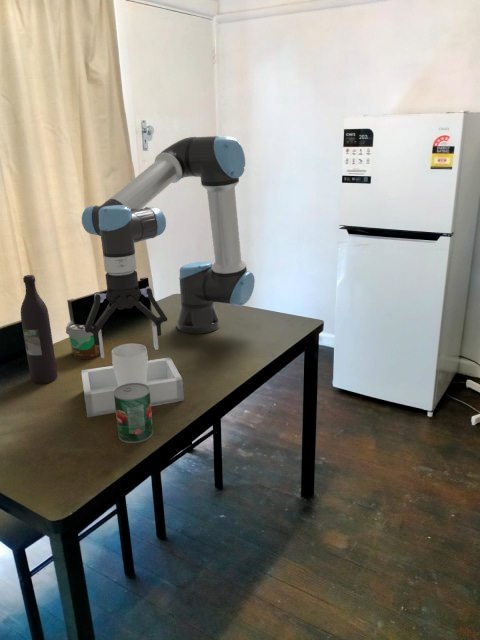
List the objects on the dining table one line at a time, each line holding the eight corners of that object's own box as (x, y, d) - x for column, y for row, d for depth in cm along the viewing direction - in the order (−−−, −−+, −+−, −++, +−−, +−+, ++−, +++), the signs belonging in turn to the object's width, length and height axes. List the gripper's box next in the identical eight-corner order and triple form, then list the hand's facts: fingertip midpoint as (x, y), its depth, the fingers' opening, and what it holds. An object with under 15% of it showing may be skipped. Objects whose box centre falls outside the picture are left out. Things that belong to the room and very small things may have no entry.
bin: (171, 376, 145) (170, 357, 143) (183, 400, 131) (182, 379, 129) (83, 390, 137) (81, 370, 135) (87, 417, 124) (84, 395, 122)
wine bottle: (30, 376, 146) (13, 274, 136) (55, 371, 149) (41, 271, 139) (32, 386, 140) (15, 280, 130) (59, 381, 143) (44, 277, 133)
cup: (155, 386, 137) (152, 344, 133) (140, 402, 129) (137, 358, 125) (125, 382, 139) (121, 341, 135) (108, 397, 131) (104, 354, 127)
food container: (60, 356, 160) (56, 326, 156) (75, 349, 165) (71, 320, 161) (90, 363, 154) (86, 332, 151) (104, 356, 159) (100, 326, 156)
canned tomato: (160, 432, 117) (157, 389, 113) (132, 447, 111) (128, 402, 108) (138, 421, 122) (135, 379, 118) (111, 434, 116) (106, 391, 113)
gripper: (67, 281, 116) (80, 365, 123) (175, 269, 124) (180, 349, 131) (66, 273, 123) (78, 353, 130) (168, 262, 130) (174, 339, 138)
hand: (129, 351), depth 131 cm, fingers open, 13 cm apart
